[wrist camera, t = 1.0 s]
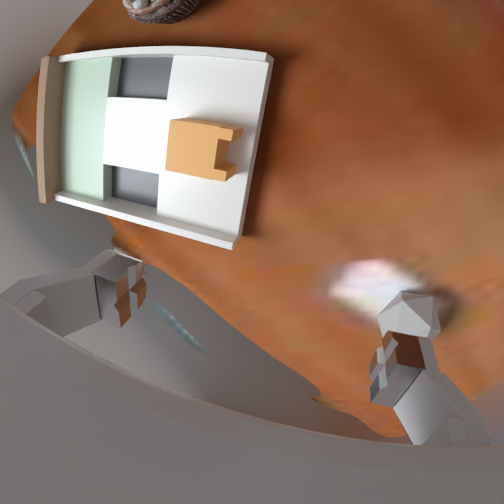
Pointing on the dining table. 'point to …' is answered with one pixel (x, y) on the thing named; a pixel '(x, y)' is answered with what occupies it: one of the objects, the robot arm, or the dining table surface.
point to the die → (410, 315)
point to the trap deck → (149, 134)
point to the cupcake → (160, 10)
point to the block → (201, 148)
